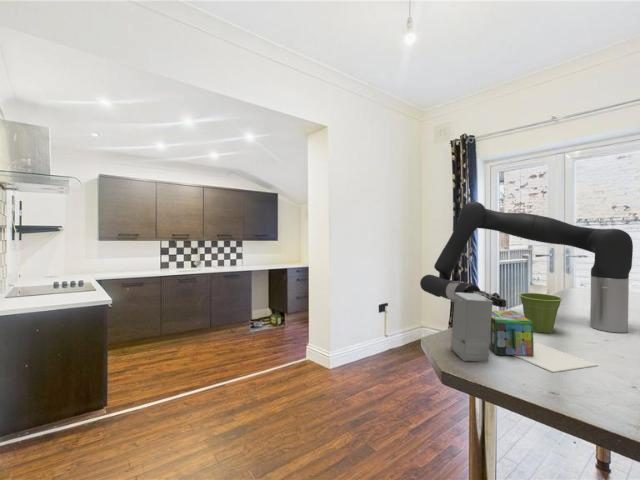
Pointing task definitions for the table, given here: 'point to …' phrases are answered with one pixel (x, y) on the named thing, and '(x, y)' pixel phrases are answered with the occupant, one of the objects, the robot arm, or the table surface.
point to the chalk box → (511, 334)
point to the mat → (554, 359)
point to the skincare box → (471, 326)
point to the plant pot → (540, 310)
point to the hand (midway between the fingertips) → (504, 303)
